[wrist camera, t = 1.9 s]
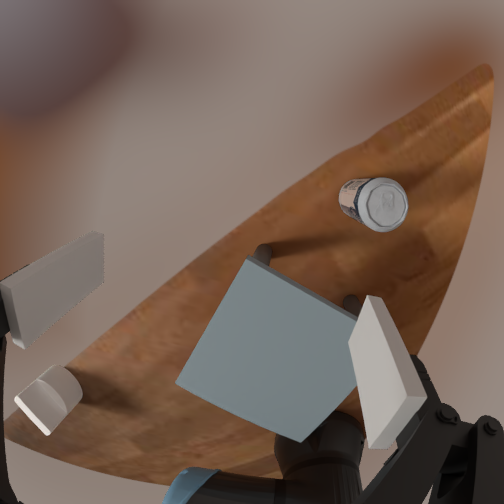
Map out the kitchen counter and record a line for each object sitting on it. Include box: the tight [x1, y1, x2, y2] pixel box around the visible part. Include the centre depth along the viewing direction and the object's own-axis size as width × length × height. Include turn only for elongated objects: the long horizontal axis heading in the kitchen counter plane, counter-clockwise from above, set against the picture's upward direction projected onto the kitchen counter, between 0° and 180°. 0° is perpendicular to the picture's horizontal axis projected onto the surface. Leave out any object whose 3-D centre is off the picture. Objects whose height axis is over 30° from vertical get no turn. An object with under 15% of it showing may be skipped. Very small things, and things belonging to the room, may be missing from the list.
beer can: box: [339, 178, 408, 232], centre depth 30 cm, size 5×5×12 cm
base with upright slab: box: [15, 365, 83, 435], centre depth 43 cm, size 9×9×12 cm
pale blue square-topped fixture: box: [175, 244, 362, 442], centre depth 34 cm, size 16×16×12 cm
